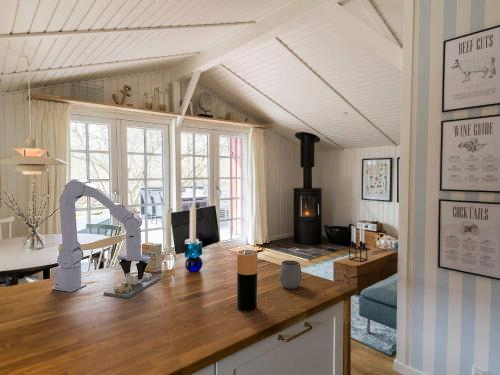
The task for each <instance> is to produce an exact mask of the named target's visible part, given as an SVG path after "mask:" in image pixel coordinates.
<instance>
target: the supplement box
mask: <svg viewBox="0 0 500 375" xmlns="http://www.w3.org/2000/svg"><path fill="white" fill-rule="evenodd" d="M162 246H163V243H162V242H161V243H159V242H149V241H147V242H143V243H141V255H143V256H147V257H151V262H149V263H148V264H147V266H146V268H145V271H144V272H147V271H149V272H148V273H155V272H157V273H159V272H161V271H162V270H161V269H163V267H162V266H163V265H162V264H163V263H162V261H163V260H162V258H163V257H162V256H163V254H162V251H163V250H162V249H163V247H162ZM161 254H162V255H161ZM160 270H161V271H160ZM158 271H159V272H158Z"/></svg>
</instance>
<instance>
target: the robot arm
mask: <svg viewBox="0 0 500 375" xmlns="http://www.w3.org/2000/svg"><path fill="white" fill-rule="evenodd" d="M82 197H86V198H87V197H89V198H93V199H95V200H96V201H97V202H98V203H100V204H101V205H102V206H104V207H105V208H107V209H108V210H109V215H110V216H112V217H113V218H115V220H117V221H118V222H119V223H121V225H123V228H124V230H125V233H126V234H125V238H126V239H125V241H126V242H125V252H126V253H119V254H117V256H116V258H117V259H116V260H118V261H119V264H118V265H119V266H120V267H121V268H122V272H123V274H124V277H125V278H124V279H126V274H127V273H129V272H131V269H132V268H131V266H132V262H136V263H135V267H136V271H138V280H141V279H143V275H144V272H146V271H145V268H146V266H147V264H148V263H149V262H151V257H147V256H143V255H142V234H141V233H142V229H141V226H142V225H143V219H142V218H141V217H140V215H138V214H136V213H135V212H132V211H131V210H129V209H128V208H127V206H126V204H125V203H123V204H122V203H120V202H118V203H117V202H115V201H114V200H113V199H111V197H109V196H108V195H107V194H106V193H105V192H104V191H103V190H102V189H100V188H99V187H98V186H97V185H96V184H95V183H93V182H92V181H91V180H89V179H86V178H81V179H72V180H69V181H68V182H67V183H66V184H64V189H63V191H62V193H61V194H60V196H59V201H58V202H59V213H60V214H59V215H60V226H61V228H60V229H61V245H60V247H59V248H58V256H57V258H56V262H57V265H58V266H57V267H56V268H55V270H54V275H53V279H54V280H53V281H54V286H53V287H52V290H56V291H63V292H68V293H72V292H74V291H77V290H79V289H81V288H83V287H86V286H87V283H82V262H81V261H82V259H83V258H84V251H83V249H82V247H81V243H80V241H79V240H78V230H77V229H78V228H77V227H78V226H77V213H76V212H77V210H76V202H78V201H79V200H80V199H81V198H82Z"/></svg>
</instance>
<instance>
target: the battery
mask: <svg viewBox="0 0 500 375" xmlns="http://www.w3.org/2000/svg"><path fill="white" fill-rule="evenodd" d="M236 252H237V253H236V307H237V309H238V310H239V311H243V312H252V311H254V310H257V308H258V271H259V270H258V264H259V262H258V260H259V259H258V255H259V254H258V251H256V250H253V249H252V250H251V249H243V250H242V249H241V250H237V251H236Z"/></svg>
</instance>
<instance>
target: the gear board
mask: <svg viewBox="0 0 500 375" xmlns="http://www.w3.org/2000/svg"><path fill="white" fill-rule="evenodd" d="M158 280H159V281H160V280H162V277H161V276H155V275H152V272H146V271H144V275H143V281H141V282H140V283H137V284H134V285H133V284H128V283H126V280H124V281H123V282H122V283H119V284H118V283H117V285H115V286H113V287H111V288H109V289H107V290H105V291H104V292H103V295H104V296H110V297H115V296H116V297H117V298H122V299H129V298H132V297H133V296H135V295H137V294H138V293H140V292H142V291H144V290H145V289H147V288H148V287H150V286H151V284H152V285H153V283H154V284H156V283H157V282H159V281H158ZM156 281H157V282H156ZM146 287H147V288H146ZM141 290H142V291H141ZM116 297H115V298H116Z"/></svg>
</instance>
